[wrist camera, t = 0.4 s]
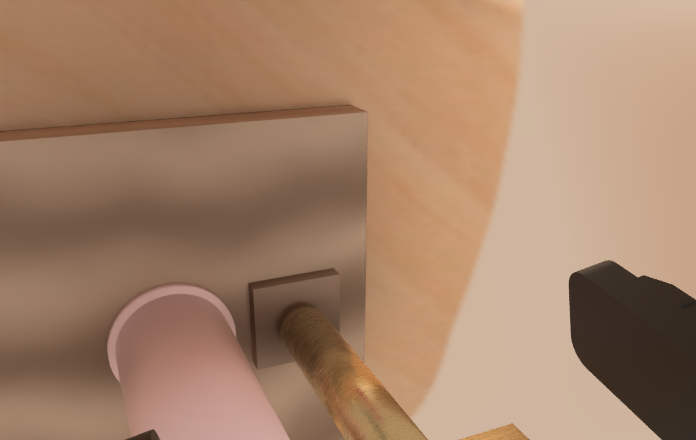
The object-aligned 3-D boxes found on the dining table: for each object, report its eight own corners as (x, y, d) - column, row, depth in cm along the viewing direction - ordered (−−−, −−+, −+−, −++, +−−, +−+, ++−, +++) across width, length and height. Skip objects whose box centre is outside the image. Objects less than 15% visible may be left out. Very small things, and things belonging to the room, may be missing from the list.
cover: (99, 294, 29) (129, 472, 18) (229, 272, 31) (322, 420, 21) (115, 405, 31) (150, 622, 20) (236, 377, 33) (323, 560, 23)
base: (-123, 140, 25) (-141, 157, 23) (350, 104, 33) (375, 114, 30) (-23, 538, 32) (-29, 584, 30) (349, 434, 40) (369, 463, 37)
